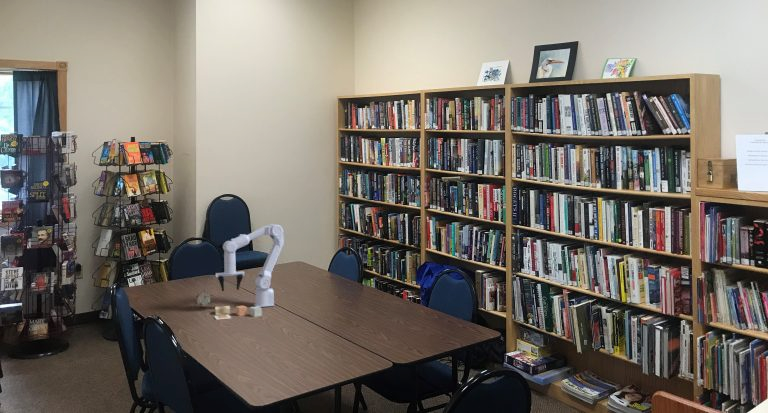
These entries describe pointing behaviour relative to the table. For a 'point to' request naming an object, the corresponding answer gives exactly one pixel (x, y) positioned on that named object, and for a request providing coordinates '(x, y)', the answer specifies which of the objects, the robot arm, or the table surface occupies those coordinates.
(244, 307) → the terracotta block
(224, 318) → the tile
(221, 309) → the maple block
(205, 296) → the game die
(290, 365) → the table surface
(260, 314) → the grey block
